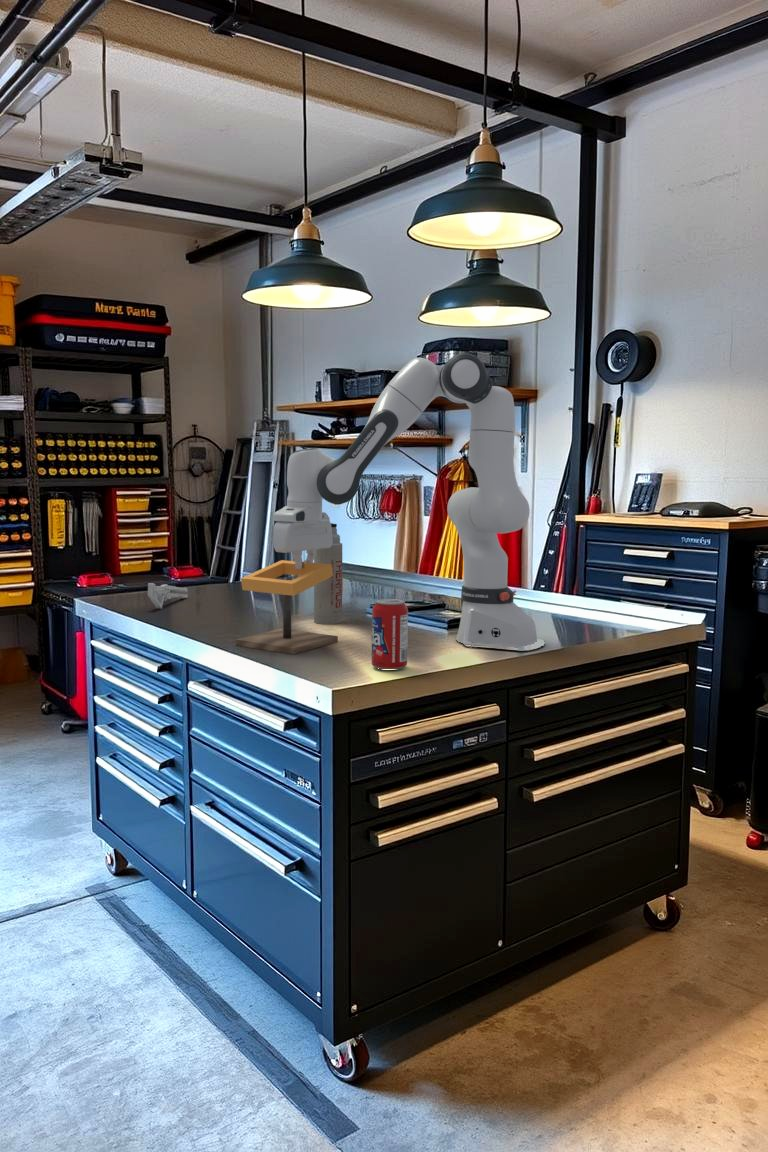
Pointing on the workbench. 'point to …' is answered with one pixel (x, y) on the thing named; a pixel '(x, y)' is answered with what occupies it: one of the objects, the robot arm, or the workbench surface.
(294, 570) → the loop
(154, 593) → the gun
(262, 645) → the wooden peg stand
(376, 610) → the soda can
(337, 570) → the thermos bottle
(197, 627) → the workbench surface
